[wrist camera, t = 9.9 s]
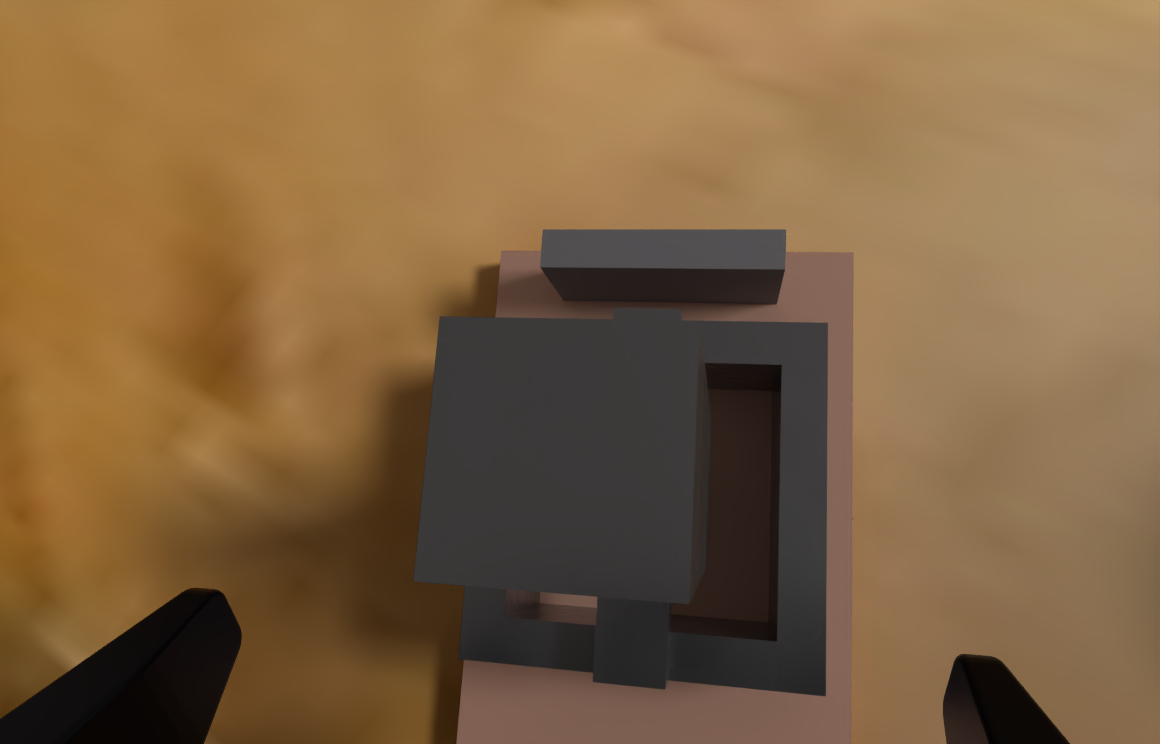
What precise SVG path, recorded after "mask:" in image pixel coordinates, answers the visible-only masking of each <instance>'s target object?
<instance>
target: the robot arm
mask: <svg viewBox="0 0 1160 744" xmlns="http://www.w3.org/2000/svg"><path fill="white" fill-rule="evenodd" d="M241 638H242V634H241V629H240V626H239V624H238V622H237V620H236V618H235V616H234V614H233V612H232V610H231V607H230V605H229V603H228V601H227V599H226V597H225V596H224V594H223V593H222V592H220V591H219V590H215V589H204V588H191V589H188V590H185V591H184V592H182V593H180V594H179V595H177V596H176V597H175V598H173V599H172V600H170V601H169V602H167V603H166V604H165V605H163V606H162V607H160V608H159V609H157V610H156V611H154V612H153V613H152V614H150V615H149V616H147V617H146V618H144V619H143V620H142V621H140V622H139V623H137V624H136V625H134V626H133V627H131V628H130V629H129V630H127V631H126V632H124V633H123V634H121V635H120V636H119V637H117V638H116V639H114V640H113V641H111V642H110V643H108V644H107V645H106V646H104V647H103V648H101V649H100V650H98V651H97V652H96V653H94V654H93V655H91V656H90V657H88V658H87V659H86V660H84V661H83V662H81V663H80V664H78V665H77V666H75V667H74V668H73V669H71V670H70V671H68V672H67V673H65V674H64V675H63V676H61V677H60V678H58V679H57V680H55V681H54V682H52V683H51V684H50V685H48V686H47V687H45V688H44V689H42V690H41V691H40V692H38V693H37V694H35V695H34V696H32V697H31V698H29V699H28V700H27V701H25V702H24V703H22V704H21V705H19V706H18V707H17V708H15V709H14V710H12V711H11V712H9V713H8V714H7V715H5V716H4V717H2V718H1V719H0V744H204V742H205V739H206V737H207V734H208V731H209V729H210V726H211V724H212V721H213V718H214V716H215V713H216V710H217V708H218V705H219V702H220V700H221V697H222V694H223V692H224V689H225V686H226V684H227V681H228V679H229V676H230V673H231V671H232V668H233V665H234V663H235V660H236V657H237V655H238V652H239V649H240V645H241ZM943 718H944V727H945V734H946V742H947V744H1070V743H1069V742H1068V741H1067V739H1066V738H1065V737H1064V736H1063V735H1062V733H1061V732H1060V731H1059V730H1058V728H1057V727H1056V726H1055V725H1054V724H1053V722H1052V721H1051V720H1050V719H1049V718H1048V716H1047V715H1046V714H1045V713H1044V712H1043V710H1042V709H1041V708H1040V707H1039V705H1038V704H1037V703H1036V702H1035V701H1034V699H1033V698H1032V697H1031V696H1030V695H1029V693H1028V692H1027V691H1026V690H1025V689H1024V687H1023V686H1022V685H1021V684H1020V682H1019V681H1018V680H1017V679H1016V678H1015V676H1014V675H1013V674H1012V673H1011V672H1010V670H1009V669H1008V668H1007V667H1006V666H1005V664H1004V663H1003V662H1002V661H1000V660H999V659H997V658H995V657H992V656H983V655H972V654H960V655H959V656H957V657H956V659H955V661H954V664H953V668H952V671H951V674H950V678H949V681H948V685H947V688H946V692H945V695H944V700H943Z"/></svg>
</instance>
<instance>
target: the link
mask: <svg viewBox="0 0 1160 744" xmlns="http://www.w3.org/2000/svg"><path fill="white" fill-rule="evenodd" d="M708 389H727V390H758V391H773V392H772V445H771V499H770V552H769V606H768V623H767V622H756V621H744V620H732V619H721V618H709V617H697V616H686V615H674V614H671V613H672V603H678V604H690V602H691V600H692V598H693V596H694V593H695V591H696V589H697V587H698V585H699V582H700V580H701V578H702V576H703V574H704V571H705V569H706V567H707V550H708V519H709V489H710V459H711V428H712V420H711V412H710V403H709V395H708ZM827 405H828V323H814V322H753V321H692V320H683V316H682V311H681V309H658V308H614V318H613V319H570V318H509V317H444V316H440V320H439V330H438V340H437V350H436V360H435V370H434V380H433V390H432V400H431V410H430V420H429V430H428V440H427V450H426V460H425V470H424V480H423V490H422V500H421V510H420V520H419V530H418V541H417V551H416V561H415V571H414V582H426V583H438V584H450V585H462V586H465V589H464V600H463V612H462V623H461V634H460V646H459V657H458V659H462V660H472V661H481V662H491V663H501V664H511V665H521V666H531V667H541V668H550V669H560V670H570V671H580V672H590V673H593V682H596V683H605V684H615V685H625V686H634V687H644V688H653V689H663V690H665V689H666V687H667V684H668V681H678V682H688V683H698V684H708V685H718V686H728V687H738V688H747V689H757V690H767V691H777V692H787V693H797V694H806V695H816V696H826V584H827ZM540 592H546V593H558V594H570V595H582V596H594V597H597V608H592V607H581V606H569V605H557V604H546V603H540Z"/></svg>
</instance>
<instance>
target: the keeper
mask: <svg viewBox="0 0 1160 744" xmlns="http://www.w3.org/2000/svg"><path fill="white" fill-rule="evenodd" d="M614 308H658V309H681V311H682V316H683V320H692V321H753V322H814V323H828V405H827V584H826V696H816V695H806V694H797V693H787V692H777V691H767V690H757V689H747V688H738V687H728V686H718V685H708V684H698V683H688V682H678V681H668V684H667V687H666V689H665V690H663V689H653V688H644V687H634V686H625V685H615V684H605V683H596V682H593V673H590V672H580V671H570V670H560V669H550V668H541V667H531V666H521V665H511V664H501V663H491V662H481V661H472V660H464V665H463V676H462V687H461V698H460V709H459V720H458V731H457V742H456V744H851V627H852V432H853V253H838V252H786V230H543V236H542V248H541V251H501V260H500V271H499V282H498V293H497V304H496V315H495V317H509V318H570V319H613V318H614ZM772 392H773V391H758V390H727V389H708V395H709V403H710V412H711V420H712V428H711V459H710V489H709V519H708V550H707V567H706V569H705V571H704V574H703V576H702V578H701V580H700V582H699V585H698V587H697V589H696V591H695V593H694V596H693V598H692V600H691V602H690V604H678V603H672V613H671V614H674V615H686V616H697V617H709V618H721V619H732V620H744V621H756V622H767V623H768V606H769V552H770V499H771V445H772ZM540 603H546V604H557V605H569V606H581V607H592V608H597V597H594V596H582V595H570V594H558V593H546V592H540Z"/></svg>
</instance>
